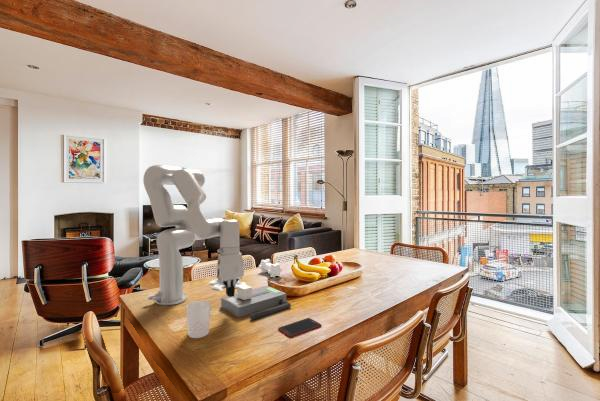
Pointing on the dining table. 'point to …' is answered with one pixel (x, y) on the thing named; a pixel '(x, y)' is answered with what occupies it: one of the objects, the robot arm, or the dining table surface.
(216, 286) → the cloth
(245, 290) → the white cube
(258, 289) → the box
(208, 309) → the white cup
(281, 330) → the cell phone
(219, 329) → the dining table surface
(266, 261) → the bone shaped toy
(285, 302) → the dark grey flat bar
